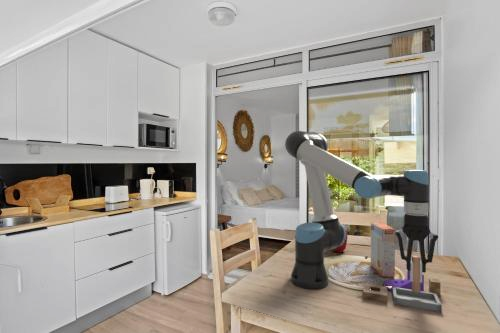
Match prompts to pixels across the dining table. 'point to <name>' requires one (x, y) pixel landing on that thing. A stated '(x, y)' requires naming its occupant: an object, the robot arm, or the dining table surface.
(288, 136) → the robot arm
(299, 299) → the dining table surface
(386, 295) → the dowel block
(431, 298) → the tray
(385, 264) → the cracker box
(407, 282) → the bracket
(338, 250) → the apple
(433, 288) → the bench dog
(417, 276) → the dowel
